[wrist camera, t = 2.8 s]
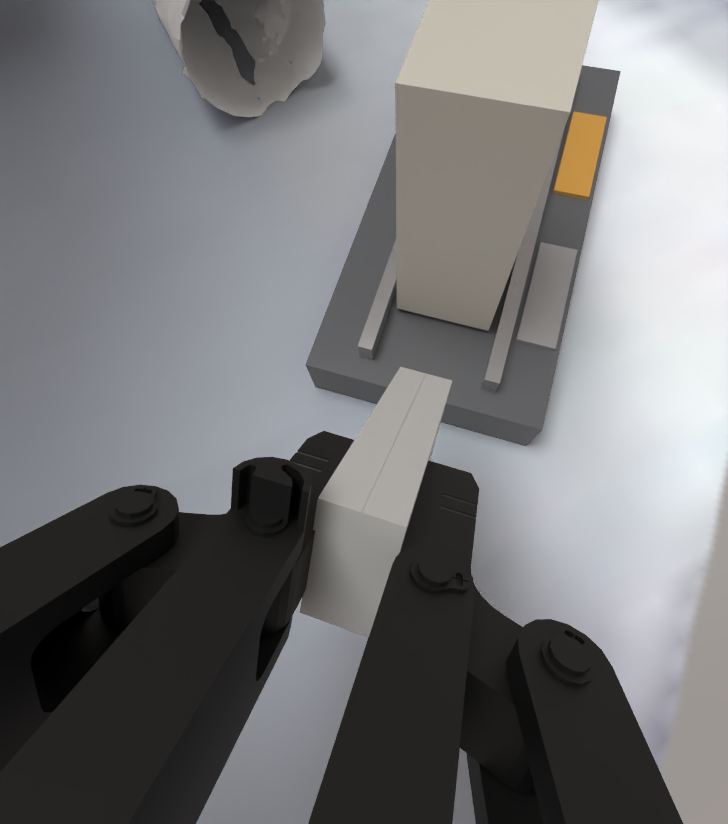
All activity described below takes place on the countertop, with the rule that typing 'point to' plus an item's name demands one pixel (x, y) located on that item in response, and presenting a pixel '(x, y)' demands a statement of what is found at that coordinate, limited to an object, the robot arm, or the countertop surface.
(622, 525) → the countertop surface
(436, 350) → the switch plate
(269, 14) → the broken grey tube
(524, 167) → the switch tab
